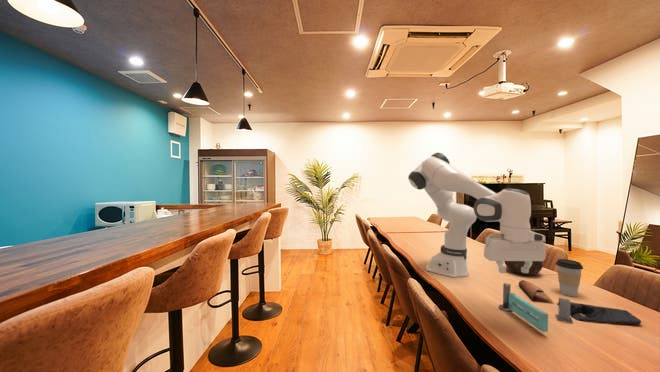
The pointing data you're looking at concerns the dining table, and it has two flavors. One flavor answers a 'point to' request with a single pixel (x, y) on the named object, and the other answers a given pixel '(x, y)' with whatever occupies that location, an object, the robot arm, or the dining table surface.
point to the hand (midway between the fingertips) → (513, 272)
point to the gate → (528, 312)
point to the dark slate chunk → (602, 314)
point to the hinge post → (506, 298)
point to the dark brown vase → (516, 265)
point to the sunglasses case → (535, 292)
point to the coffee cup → (569, 276)
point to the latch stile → (564, 310)
